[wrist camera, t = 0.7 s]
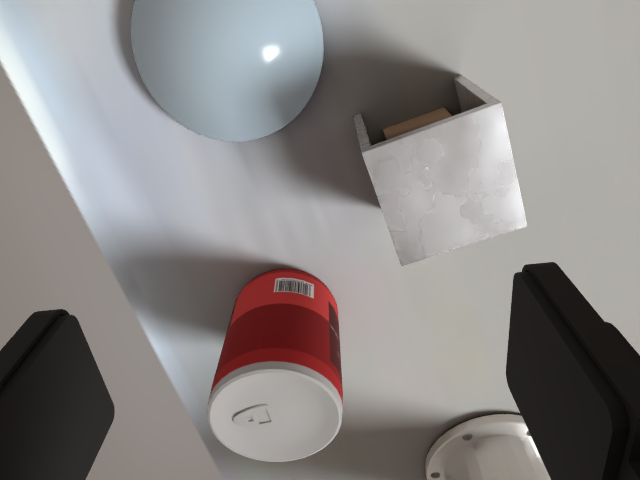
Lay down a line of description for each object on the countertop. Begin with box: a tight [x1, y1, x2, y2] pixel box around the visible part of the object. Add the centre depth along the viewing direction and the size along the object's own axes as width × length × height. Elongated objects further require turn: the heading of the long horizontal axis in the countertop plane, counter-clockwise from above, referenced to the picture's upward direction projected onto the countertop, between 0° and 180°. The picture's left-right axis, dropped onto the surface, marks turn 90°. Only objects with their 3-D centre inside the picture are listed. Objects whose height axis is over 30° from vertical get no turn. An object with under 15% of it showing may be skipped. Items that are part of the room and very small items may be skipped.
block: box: [383, 107, 452, 140], centre depth 31 cm, size 4×4×4 cm
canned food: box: [207, 269, 343, 462], centre depth 34 cm, size 8×8×11 cm
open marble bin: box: [353, 75, 527, 266], centre depth 29 cm, size 7×7×8 cm
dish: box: [131, 0, 324, 142], centre depth 29 cm, size 11×11×1 cm
